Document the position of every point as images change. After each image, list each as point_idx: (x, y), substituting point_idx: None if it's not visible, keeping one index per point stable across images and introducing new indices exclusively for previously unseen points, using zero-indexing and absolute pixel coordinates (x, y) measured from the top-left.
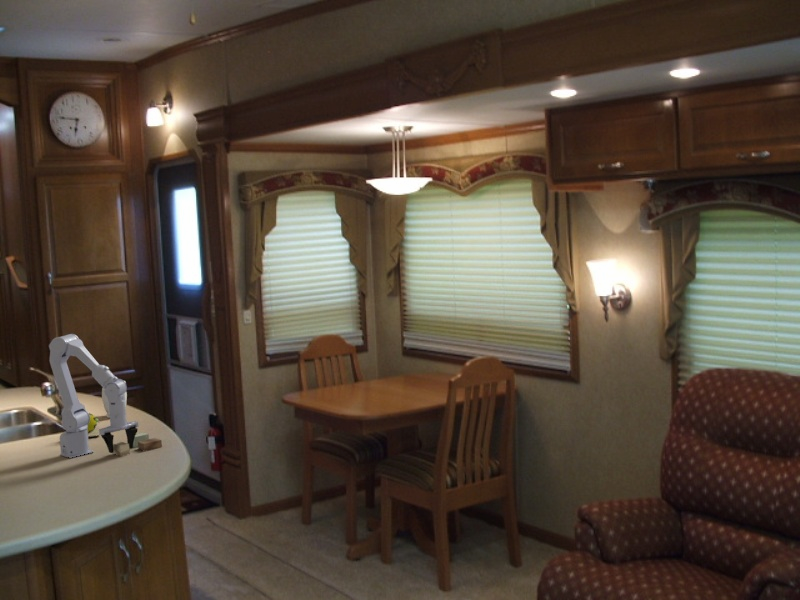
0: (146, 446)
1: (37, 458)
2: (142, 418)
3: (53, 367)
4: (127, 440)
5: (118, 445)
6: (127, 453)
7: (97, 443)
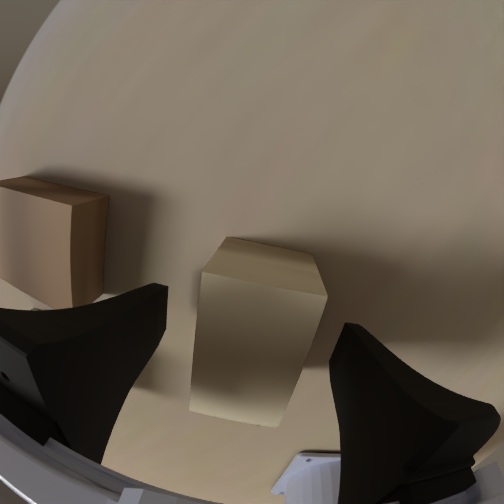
0: (74, 197)
1: None
2: None
3: None
4: (139, 372)
5: (314, 332)
6: (245, 245)
7: (183, 488)
